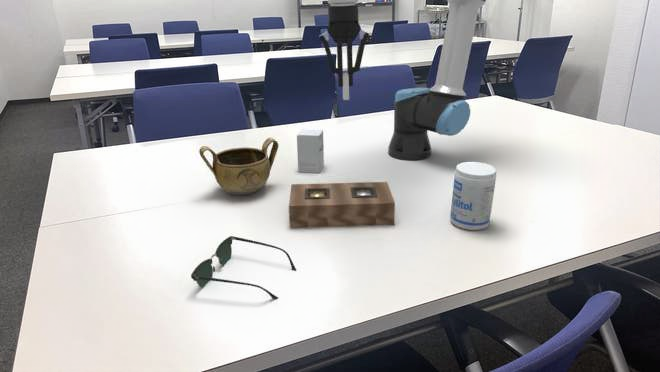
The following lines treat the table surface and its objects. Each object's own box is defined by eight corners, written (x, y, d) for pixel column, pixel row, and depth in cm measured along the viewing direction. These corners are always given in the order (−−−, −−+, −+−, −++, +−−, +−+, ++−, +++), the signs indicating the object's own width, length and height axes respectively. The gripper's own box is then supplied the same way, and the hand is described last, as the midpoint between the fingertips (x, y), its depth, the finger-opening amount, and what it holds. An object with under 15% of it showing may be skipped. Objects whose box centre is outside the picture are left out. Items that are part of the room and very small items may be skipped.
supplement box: (319, 173, 153) (318, 135, 148) (297, 172, 154) (295, 134, 149) (324, 165, 159) (323, 129, 154) (303, 164, 161) (301, 128, 156)
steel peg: (370, 208, 126) (370, 189, 124) (372, 215, 123) (372, 195, 120) (355, 208, 126) (355, 190, 124) (356, 215, 123) (356, 196, 120)
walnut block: (386, 201, 131) (387, 180, 129) (394, 224, 118) (395, 201, 116) (292, 204, 131) (291, 183, 128) (289, 227, 118) (288, 204, 115)
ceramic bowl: (212, 208, 129) (205, 156, 123) (199, 187, 143) (193, 139, 138) (288, 193, 138) (286, 144, 132) (270, 175, 152) (266, 129, 146)
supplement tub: (443, 224, 118) (447, 168, 113) (460, 211, 125) (465, 158, 119) (480, 235, 112) (486, 178, 107) (496, 221, 119) (503, 166, 113)
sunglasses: (272, 310, 88) (270, 287, 86) (191, 296, 93) (188, 274, 91) (301, 264, 103) (300, 244, 101) (231, 254, 107) (229, 234, 105)
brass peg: (325, 209, 126) (324, 190, 124) (325, 216, 122) (325, 196, 120) (310, 210, 126) (309, 191, 124) (310, 216, 122) (309, 197, 120)
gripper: (367, 2, 121) (368, 94, 130) (316, 5, 121) (321, 96, 130) (371, 3, 114) (372, 100, 124) (317, 6, 114) (322, 103, 123)
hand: (346, 98), depth 127 cm, fingers closed
